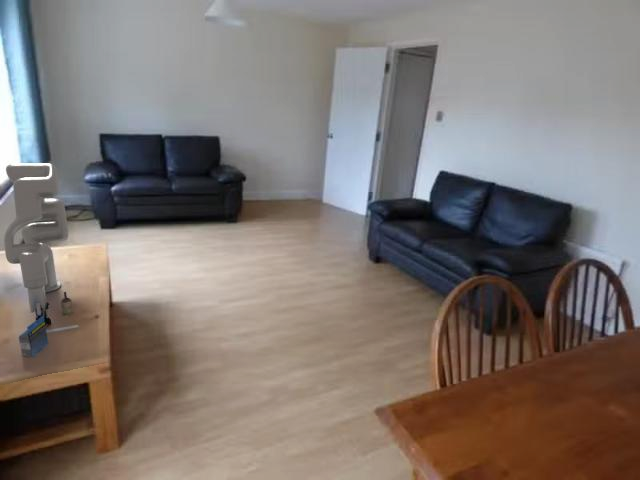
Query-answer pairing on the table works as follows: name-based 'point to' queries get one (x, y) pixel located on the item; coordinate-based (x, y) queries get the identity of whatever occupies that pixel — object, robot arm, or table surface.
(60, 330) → the flat metal tool blade
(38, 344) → the label tape cartridge
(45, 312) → the push button
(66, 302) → the awl
